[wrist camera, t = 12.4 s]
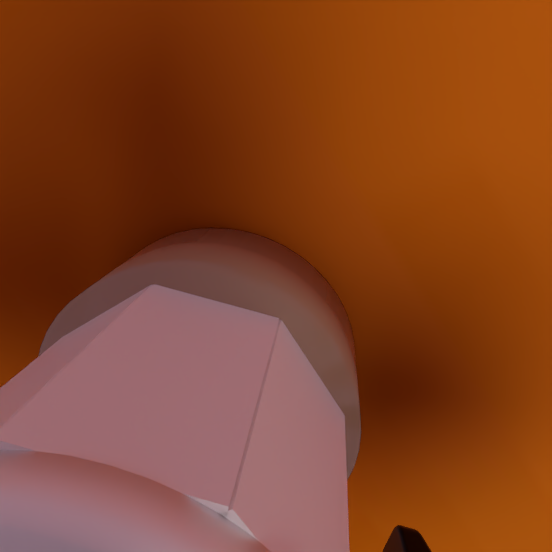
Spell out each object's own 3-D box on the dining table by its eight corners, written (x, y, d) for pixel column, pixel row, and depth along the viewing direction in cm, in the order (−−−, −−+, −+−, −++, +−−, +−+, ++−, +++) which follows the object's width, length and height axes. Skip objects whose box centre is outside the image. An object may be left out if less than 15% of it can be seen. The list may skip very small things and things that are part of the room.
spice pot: (199, 479, 14) (87, 782, 8) (53, 307, 12) (-254, 518, 6) (402, 399, 12) (481, 735, 5) (260, 171, 10) (128, 279, 4)
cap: (391, 478, 9) (448, 844, 5) (167, 550, 11) (51, 856, 7) (230, 231, 8) (65, 418, 3) (1, 368, 10) (-311, 606, 5)
